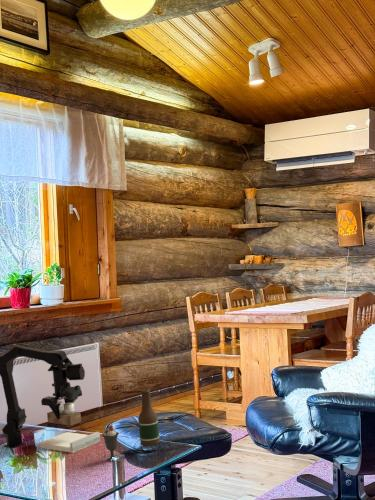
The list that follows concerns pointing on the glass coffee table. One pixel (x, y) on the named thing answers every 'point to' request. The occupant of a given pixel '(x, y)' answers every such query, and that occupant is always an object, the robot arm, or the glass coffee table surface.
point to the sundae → (110, 440)
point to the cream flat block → (70, 442)
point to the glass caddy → (65, 415)
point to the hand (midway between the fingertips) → (63, 416)
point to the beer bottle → (148, 421)
